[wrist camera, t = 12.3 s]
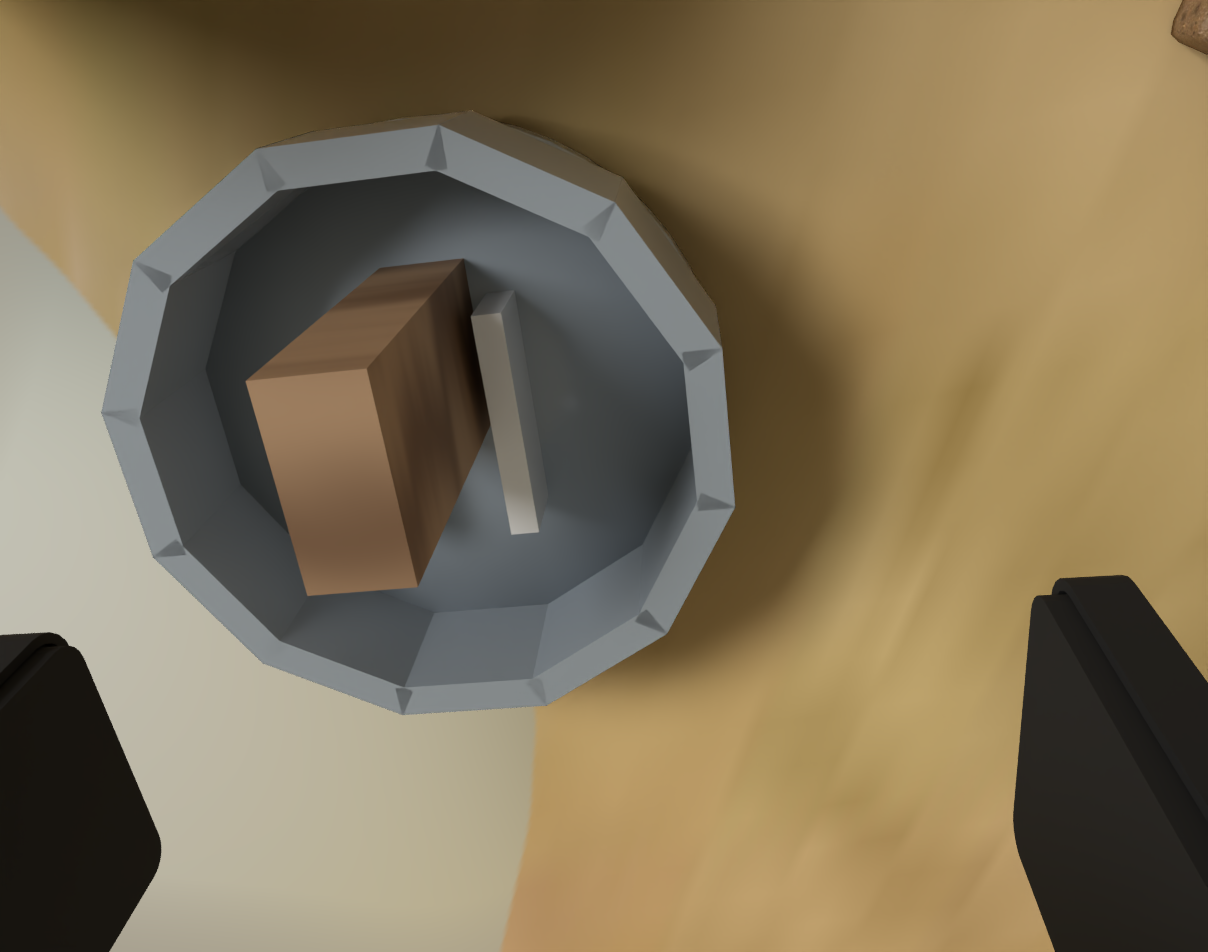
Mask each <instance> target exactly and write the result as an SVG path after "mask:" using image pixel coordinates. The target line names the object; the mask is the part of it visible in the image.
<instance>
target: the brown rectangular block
mask: <svg viewBox="0 0 1208 952" xmlns="http://www.w3.org/2000/svg"><path fill="white" fill-rule="evenodd" d="M472 314H473V307H472V302H471V296H470V291H469V285H468V280H467V274H466V269H465V264H464V258H461V259H452V260H444V261H435V262H426V263H417V264H409V265H400V266H391V267H383V268H379V269H378V270H377V271H375V272H374V273H373V274H372V275H371V276H369V277H368V278H367V279H366V280H365V281H363V282H362V283H361V284H360V285H359V286H358V287H356V288H355V289H354V290H353V291H352V292H350V293H349V294H348V295H347V296H346V297H345V298H343V299H342V300H341V301H340V302H339V303H337V304H336V305H335V306H334V307H333V308H331V309H330V310H329V311H328V312H327V313H326V314H324V315H323V316H322V317H321V318H320V319H318V320H317V321H316V322H315V323H314V324H313V325H311V326H310V327H309V328H308V329H307V330H305V331H304V332H303V333H302V334H301V335H300V336H298V337H297V338H296V339H295V340H294V341H292V342H291V343H290V344H289V345H288V346H286V347H285V348H284V349H283V350H282V351H281V352H279V353H278V354H277V355H276V356H275V357H273V358H272V359H271V360H270V361H269V362H268V363H266V364H265V365H264V366H263V367H262V368H260V369H259V370H258V371H257V372H256V373H254V374H253V375H252V376H251V377H250V378H249V379H247V380H246V384H247V388H248V391H249V395H250V398H251V402H252V405H253V409H254V412H255V416H256V419H257V423H258V426H259V429H260V433H261V436H262V440H263V443H264V447H265V450H266V454H267V457H268V461H269V464H270V468H271V471H272V475H273V478H274V482H275V485H276V488H277V492H278V495H279V499H280V502H281V506H282V509H283V513H284V516H285V520H286V523H287V527H288V530H289V534H290V537H291V541H292V544H293V547H294V551H295V554H296V558H297V561H298V565H299V568H300V572H301V575H302V579H303V582H304V586H305V589H306V593H307V596H313V595H325V594H338V593H351V592H364V591H376V590H389V589H402V588H415V587H418V586H419V584H420V581H421V579H422V577H423V575H424V572H425V570H426V568H427V566H428V563H429V561H430V559H431V557H432V555H433V552H434V550H435V548H436V546H437V543H438V541H439V539H440V537H441V534H442V532H443V530H444V528H445V526H446V523H447V521H448V519H449V517H450V514H451V512H452V510H453V508H454V505H455V503H456V501H457V499H458V497H459V494H460V492H461V490H462V488H463V485H464V483H465V481H466V479H467V477H468V474H469V472H470V470H471V468H472V465H473V463H474V461H475V459H476V456H477V454H478V452H479V450H480V448H481V445H482V443H483V441H484V439H485V436H486V434H487V432H488V430H489V427H490V425H491V423H490V417H489V412H488V407H487V401H486V396H485V390H484V385H483V380H482V374H481V369H480V364H479V358H478V353H477V348H476V342H475V337H474V332H473V326H472V321H471V315H472Z"/></svg>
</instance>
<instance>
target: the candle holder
mask: <svg viewBox="0 0 1208 952" xmlns="http://www.w3.org/2000/svg"><path fill="white" fill-rule="evenodd" d="M1171 35H1172V36H1173V37H1174V38H1175V39H1176V40H1177V41H1178V42H1180V43H1182V44H1185V45H1187V46H1189V47H1192V48H1194V49H1196V50H1199V51H1201V52H1203V53H1205V54H1208V0H1183V1H1182V3H1181V5H1180V7H1179V10H1178V12H1177V14H1176V16H1175V18H1174V21H1173V25H1172V31H1171Z"/></svg>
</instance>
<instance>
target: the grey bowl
mask: <svg viewBox="0 0 1208 952" xmlns="http://www.w3.org/2000/svg"><path fill="white" fill-rule="evenodd" d="M461 258H464V264H465V269H466V274H467V280H468V285H469V291H470V296H471V302H472V307H473V314H472V315H471V321H472V326H473V332H474V337H475V342H476V348H477V353H478V358H479V364H480V369H481V374H482V380H483V385H484V390H485V396H486V401H487V407H488V412H489V417H490V423H491V425H490V427H489V430H488V432H487V434H486V436H485V439H484V441H483V443H482V445H481V448H480V450H479V452H478V454H477V456H476V459H475V461H474V463H473V465H472V468H471V470H470V472H469V474H468V477H467V479H466V481H465V483H464V485H463V488H462V490H461V492H460V494H459V497H458V499H457V501H456V503H455V505H454V508H453V510H452V512H451V514H450V517H449V519H448V521H447V523H446V526H445V528H444V530H443V532H442V534H441V537H440V539H439V541H438V543H437V546H436V548H435V550H434V552H433V555H432V557H431V559H430V561H429V563H428V566H427V568H426V570H425V572H424V575H423V577H422V579H421V581H420V584H419V586H418V587H415V588H402V589H389V590H376V591H364V592H351V593H338V594H325V595H313V596H307V593H306V589H305V586H304V582H303V579H302V575H301V572H300V568H299V565H298V561H297V558H296V554H295V551H294V547H293V544H292V541H291V537H290V534H289V530H288V527H287V523H286V520H285V516H284V513H283V509H282V506H281V502H280V499H279V495H278V492H277V488H276V485H275V482H274V478H273V475H272V471H271V468H270V464H269V461H268V457H267V454H266V450H265V447H264V443H263V440H262V436H261V433H260V429H259V426H258V423H257V419H256V416H255V412H254V409H253V405H252V402H251V398H250V395H249V391H248V388H247V384H246V380H247V379H249V378H250V377H251V376H252V375H253V374H254V373H256V372H257V371H258V370H259V369H260V368H262V367H263V366H264V365H265V364H266V363H268V362H269V361H270V360H271V359H272V358H273V357H275V356H276V355H277V354H278V353H279V352H281V351H282V350H283V349H284V348H285V347H286V346H288V345H289V344H290V343H291V342H292V341H294V340H295V339H296V338H297V337H298V336H300V335H301V334H302V333H303V332H304V331H305V330H307V329H308V328H309V327H310V326H311V325H313V324H314V323H315V322H316V321H317V320H318V319H320V318H321V317H322V316H323V315H324V314H326V313H327V312H328V311H329V310H330V309H331V308H333V307H334V306H335V305H336V304H337V303H339V302H340V301H341V300H342V299H343V298H345V297H346V296H347V295H348V294H349V293H350V292H352V291H353V290H354V289H355V288H356V287H358V286H359V285H360V284H361V283H362V282H363V281H365V280H366V279H367V278H368V277H369V276H371V275H372V274H373V273H374V272H375V271H377V270H378V269H379V268H383V267H391V266H400V265H409V264H417V263H426V262H435V261H444V260H452V259H461ZM101 413H102V416H103V419H104V421H105V424H106V427H107V430H108V433H109V435H110V438H111V441H112V444H113V447H114V449H115V452H116V455H117V458H118V461H119V463H120V466H121V469H122V472H123V475H124V477H125V480H126V483H127V486H128V489H129V491H130V494H131V497H132V500H133V503H134V505H135V508H136V511H137V514H138V517H139V519H140V522H141V525H142V528H143V530H144V533H145V536H146V539H147V542H148V545H149V547H150V550H151V553H152V555H153V558H154V559H156V561H157V562H159V564H161V565H162V566H163V567H164V568H165V569H166V570H167V571H168V572H169V573H170V574H171V575H172V576H173V577H174V578H175V579H176V580H177V581H178V582H179V583H180V584H181V585H182V586H183V587H184V588H186V590H188V591H189V592H190V593H191V594H192V595H193V596H194V597H195V598H196V599H197V600H198V601H199V602H200V603H201V604H202V605H203V606H204V607H205V608H206V609H207V610H208V611H209V612H210V613H211V614H212V615H213V616H214V617H215V618H216V619H218V620H219V621H220V622H221V623H222V624H223V625H224V626H225V627H226V628H227V629H228V630H229V631H230V632H231V633H232V634H233V635H234V636H235V637H236V638H237V639H238V640H239V641H240V642H241V643H242V644H243V645H244V646H245V647H246V648H248V649H249V650H250V651H251V652H252V653H253V654H254V655H255V656H256V657H257V658H258V659H259V660H260V661H261V662H262V663H263V664H266V665H269V666H272V667H274V668H277V669H280V670H282V671H285V672H288V673H290V674H293V675H296V676H299V677H301V678H304V679H307V680H309V681H312V682H315V683H318V684H320V685H323V686H326V687H328V688H331V689H334V690H336V691H339V692H342V693H345V694H348V695H350V696H353V697H355V698H358V699H361V700H364V701H366V702H369V703H372V704H374V705H377V706H380V707H382V708H385V709H388V710H391V711H393V712H396V713H399V714H401V715H409V714H423V713H424V714H425V713H440V712H456V711H471V710H486V709H501V708H515V707H516V708H517V707H532V706H547V705H548V704H550V703H551V702H553V701H555V700H557V699H558V698H560V697H562V696H563V695H565V694H567V693H568V692H570V691H572V690H573V689H575V688H577V687H578V686H580V685H582V684H583V683H585V682H587V681H589V680H590V679H592V678H594V677H595V676H597V675H599V674H600V673H602V672H604V671H605V670H607V669H609V668H610V667H612V666H614V665H615V664H617V663H619V662H621V661H622V660H624V659H626V658H627V657H629V656H631V655H632V654H634V653H636V652H637V651H639V650H641V649H642V648H644V647H646V646H647V645H649V644H651V643H653V642H654V641H656V640H658V639H659V638H661V637H663V636H664V635H666V634H667V633H668V631H669V629H670V627H671V626H672V624H673V622H674V620H675V618H676V616H677V614H678V613H679V611H680V609H681V607H682V605H683V603H684V601H685V599H686V598H687V596H688V594H689V592H690V590H691V588H692V587H693V585H694V583H695V581H696V579H697V577H698V575H699V573H700V572H701V570H702V568H703V566H704V564H705V562H706V560H707V559H708V557H709V555H710V553H711V551H712V549H713V547H714V546H715V544H716V542H717V540H718V538H719V536H720V534H721V533H722V531H723V529H724V527H725V525H726V523H727V521H728V520H729V518H730V516H731V514H732V512H733V510H734V508H735V499H734V487H733V475H732V463H731V450H730V438H729V426H728V414H727V401H726V389H725V377H724V365H723V352H722V342H721V336H720V329H719V323H718V316H717V310H716V305H715V304H714V303H713V301H712V300H711V299H710V297H709V296H708V294H707V293H706V292H705V290H704V289H703V287H702V286H701V285H700V283H699V282H698V281H697V279H696V278H695V276H694V274H693V271H692V269H691V267H690V265H689V263H688V262H687V260H686V259H685V257H684V255H683V254H682V252H681V251H680V249H679V247H678V246H677V244H676V243H675V241H674V239H673V238H672V236H671V235H670V233H669V232H668V231H667V230H666V228H665V227H664V226H663V225H662V224H661V222H660V221H659V220H658V219H657V218H656V216H655V215H654V214H653V213H652V211H651V210H650V209H649V208H648V207H647V205H645V204H644V203H643V202H642V201H641V200H640V199H639V198H638V197H637V196H636V195H635V193H634V192H633V191H632V189H631V188H630V186H629V185H628V184H627V182H626V181H625V180H624V178H623V177H621V176H619V175H616V174H614V173H612V172H610V171H607V170H605V169H603V168H602V167H600V166H599V165H597V164H596V163H595V162H593V161H592V160H590V159H589V158H587V157H586V156H584V155H582V154H580V153H578V152H576V151H574V150H572V149H570V148H569V147H567V146H565V145H563V144H561V143H559V142H557V141H555V140H553V139H551V138H548V137H545V136H543V135H540V134H537V133H535V132H532V131H529V130H526V129H524V128H521V127H518V126H515V125H510V124H506V123H501V122H497V121H495V120H492V119H490V118H488V117H486V116H483V115H481V114H479V113H477V112H474V111H472V110H470V111H462V112H455V113H447V114H440V115H425V116H409V117H400V118H395V119H390V120H386V121H381V122H376V123H371V124H365V125H357V126H349V127H342V128H334V129H327V130H319V131H312V132H309V133H305V134H302V135H299V136H296V137H292V138H289V139H286V140H283V141H279V142H276V143H273V144H270V145H266V146H263V147H260V148H257V149H255V150H254V151H253V152H252V153H251V154H250V155H249V156H248V157H247V158H246V159H244V160H243V161H242V162H241V163H240V164H239V165H238V166H237V167H236V168H235V169H233V170H232V171H231V172H230V173H229V174H228V175H227V176H226V177H225V178H224V179H222V180H221V181H220V182H219V183H218V184H217V185H216V186H215V187H214V188H213V189H212V190H210V191H209V192H208V193H207V194H206V195H205V196H204V197H203V198H202V199H201V200H199V201H198V202H197V203H196V204H195V205H194V206H193V207H192V208H191V209H190V210H188V211H187V212H186V213H185V214H184V215H183V216H182V217H181V218H180V219H179V220H177V221H176V222H175V223H174V224H173V225H172V226H171V227H170V228H169V229H168V230H166V231H165V232H164V233H163V234H162V235H161V236H160V237H159V238H158V239H157V240H156V241H154V242H153V243H152V244H151V245H150V246H149V247H148V248H147V249H146V250H145V251H143V252H142V253H141V254H140V255H139V256H138V257H137V258H136V259H135V260H133V265H132V269H131V274H130V279H129V284H128V288H127V293H126V298H125V303H124V307H123V312H122V317H121V322H120V326H119V331H118V336H117V341H116V346H115V350H114V355H113V360H112V365H111V369H110V374H109V379H108V384H107V388H106V393H105V398H104V403H103V408H102V412H101Z"/></svg>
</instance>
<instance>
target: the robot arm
mask: <svg viewBox="0 0 1208 952" xmlns="http://www.w3.org/2000/svg"><path fill="white" fill-rule="evenodd" d="M1013 823H1014V833H1015V840H1016V845H1017V849H1018V853H1019V856H1020V859H1021V862H1022V864H1023V867H1024V870H1025V872H1026V875H1027V878H1028V880H1029V883H1030V886H1031V888H1032V891H1033V894H1034V896H1035V899H1036V902H1037V904H1038V907H1039V910H1040V912H1041V915H1042V918H1043V920H1044V923H1045V926H1046V928H1047V931H1048V934H1049V936H1050V939H1051V942H1052V944H1053V947H1054V950H1055V952H1208V682H1207V681H1206V680H1205V678H1204V677H1203V675H1202V674H1201V673H1200V671H1199V670H1198V669H1197V667H1196V666H1195V665H1194V663H1193V662H1192V660H1191V659H1190V658H1189V656H1188V655H1187V654H1186V652H1185V651H1184V650H1183V648H1182V647H1181V645H1180V644H1179V643H1178V641H1177V640H1176V639H1175V637H1174V636H1173V635H1172V633H1171V632H1170V630H1169V629H1168V628H1167V626H1166V625H1165V624H1164V622H1163V621H1162V620H1161V618H1160V617H1159V615H1158V614H1157V613H1156V611H1155V610H1154V609H1153V607H1152V606H1151V605H1150V603H1149V602H1148V600H1147V599H1146V598H1145V596H1144V595H1143V594H1142V592H1141V591H1140V590H1139V588H1138V587H1137V585H1136V584H1135V583H1134V582H1133V581H1132V580H1131V579H1130V578H1129V577H1128V576H1124V575H1114V576H1095V577H1077V578H1060V579H1059V580H1057V581H1056V582H1055V584H1054V587H1053V589H1052V595H1040V596H1036V597H1035V598H1034V600H1033V603H1032V608H1031V617H1030V629H1029V640H1028V652H1027V663H1026V674H1025V686H1024V697H1023V709H1022V720H1021V732H1020V743H1019V755H1018V766H1017V777H1016V789H1015V800H1014V812H1013ZM160 858H161V841H160V837H159V834H158V832H157V830H156V827H155V825H154V822H153V820H152V818H151V815H150V813H149V810H148V808H147V806H146V803H145V801H144V799H143V796H142V794H141V791H140V789H139V787H138V784H137V782H136V780H135V777H134V775H133V773H132V771H131V768H130V766H129V763H128V761H127V759H126V756H125V754H124V751H123V749H122V747H121V744H120V742H119V740H118V738H117V735H116V733H115V730H114V728H113V726H112V723H111V721H110V719H109V716H108V714H107V712H106V709H105V707H104V704H103V702H102V700H101V697H100V695H99V693H98V691H97V688H96V686H95V683H94V681H93V679H92V676H91V674H90V671H89V669H88V667H87V664H86V662H85V660H84V658H83V656H82V654H81V653H80V651H79V650H77V649H76V648H75V647H72V646H69V645H68V643H67V642H66V640H65V639H63V638H62V637H61V636H60V635H58V634H54V633H50V632H48V633H31V634H12V635H0V952H109V951H110V949H111V948H112V946H113V944H114V943H115V941H116V939H117V938H118V936H119V934H120V933H121V931H122V929H123V928H124V926H125V924H126V923H127V921H128V919H129V918H130V916H131V914H132V913H133V911H134V909H135V908H136V906H137V904H138V903H139V901H140V899H141V898H142V896H143V894H144V893H145V891H146V889H147V888H148V886H149V884H150V883H151V881H152V879H153V877H154V876H155V874H156V872H157V869H158V866H159V862H160Z"/></svg>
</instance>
